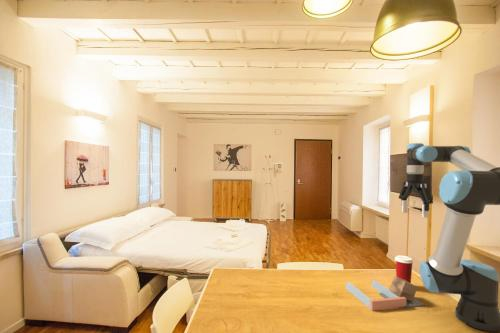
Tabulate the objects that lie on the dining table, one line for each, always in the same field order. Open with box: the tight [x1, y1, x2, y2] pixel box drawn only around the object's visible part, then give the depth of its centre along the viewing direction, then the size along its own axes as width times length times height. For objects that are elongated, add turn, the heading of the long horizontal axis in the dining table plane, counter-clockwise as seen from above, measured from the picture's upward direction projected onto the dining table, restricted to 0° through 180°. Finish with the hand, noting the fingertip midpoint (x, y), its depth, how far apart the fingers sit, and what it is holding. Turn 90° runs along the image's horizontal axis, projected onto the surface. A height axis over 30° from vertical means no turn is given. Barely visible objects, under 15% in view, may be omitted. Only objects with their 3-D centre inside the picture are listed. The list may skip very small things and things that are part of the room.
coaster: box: [379, 292, 425, 309], centre depth 128 cm, size 13×13×1 cm
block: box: [388, 275, 419, 301], centre depth 128 cm, size 7×7×7 cm
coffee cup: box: [394, 255, 414, 284], centre depth 142 cm, size 8×8×15 cm
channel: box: [345, 280, 406, 312], centre depth 130 cm, size 22×16×4 cm
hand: (414, 214), depth 142 cm, fingers open, 13 cm apart
